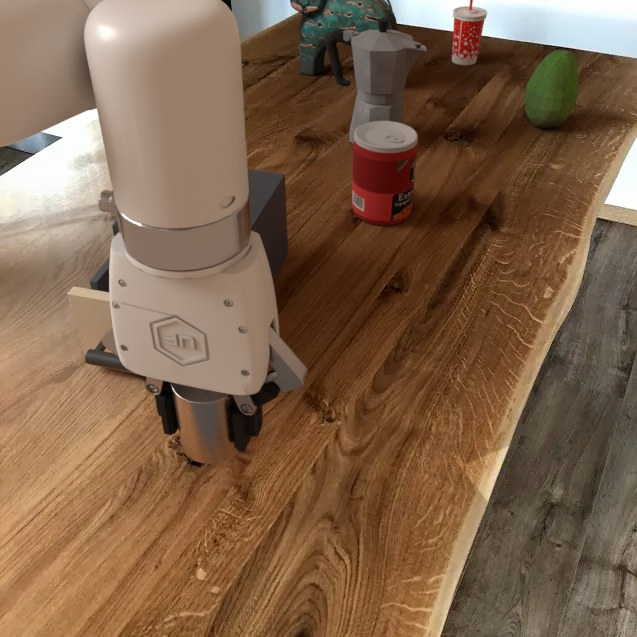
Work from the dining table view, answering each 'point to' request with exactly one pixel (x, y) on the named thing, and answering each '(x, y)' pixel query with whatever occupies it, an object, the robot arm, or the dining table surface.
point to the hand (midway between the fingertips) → (211, 427)
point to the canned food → (383, 172)
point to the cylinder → (204, 423)
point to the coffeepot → (376, 71)
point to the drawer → (95, 319)
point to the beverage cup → (467, 33)
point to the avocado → (552, 89)
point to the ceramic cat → (335, 25)
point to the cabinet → (266, 215)
